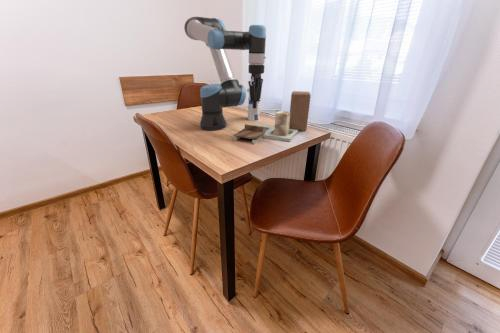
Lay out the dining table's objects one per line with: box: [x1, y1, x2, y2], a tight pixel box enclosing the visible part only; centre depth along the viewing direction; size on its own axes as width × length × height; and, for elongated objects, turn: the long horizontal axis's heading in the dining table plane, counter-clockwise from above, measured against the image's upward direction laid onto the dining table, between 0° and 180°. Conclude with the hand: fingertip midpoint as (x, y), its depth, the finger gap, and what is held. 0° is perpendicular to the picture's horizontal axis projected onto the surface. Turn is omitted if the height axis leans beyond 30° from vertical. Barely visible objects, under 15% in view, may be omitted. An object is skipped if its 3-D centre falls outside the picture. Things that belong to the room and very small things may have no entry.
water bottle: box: [246, 87, 260, 121], centre depth 141 cm, size 8×9×25 cm
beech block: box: [273, 110, 290, 137], centre depth 113 cm, size 6×6×12 cm
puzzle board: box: [233, 123, 299, 145], centre depth 114 cm, size 27×26×2 cm
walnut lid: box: [233, 123, 265, 140], centre depth 110 cm, size 12×12×3 cm
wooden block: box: [289, 90, 311, 132], centre depth 123 cm, size 10×10×20 cm
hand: (255, 114), depth 114 cm, fingers closed
